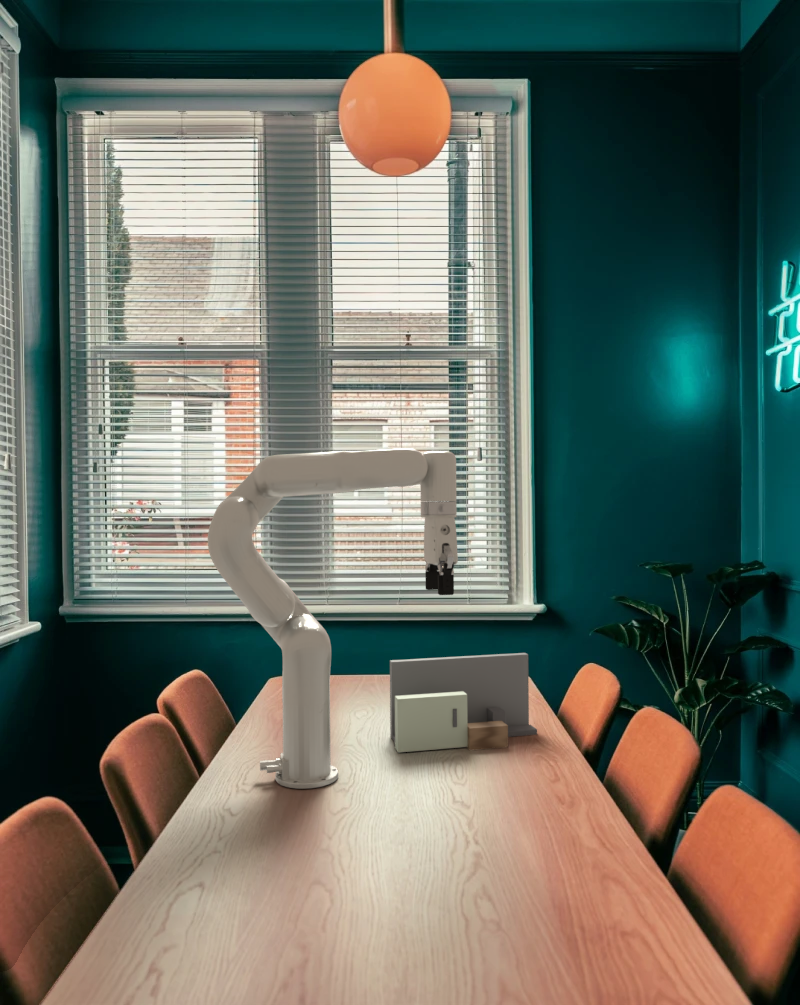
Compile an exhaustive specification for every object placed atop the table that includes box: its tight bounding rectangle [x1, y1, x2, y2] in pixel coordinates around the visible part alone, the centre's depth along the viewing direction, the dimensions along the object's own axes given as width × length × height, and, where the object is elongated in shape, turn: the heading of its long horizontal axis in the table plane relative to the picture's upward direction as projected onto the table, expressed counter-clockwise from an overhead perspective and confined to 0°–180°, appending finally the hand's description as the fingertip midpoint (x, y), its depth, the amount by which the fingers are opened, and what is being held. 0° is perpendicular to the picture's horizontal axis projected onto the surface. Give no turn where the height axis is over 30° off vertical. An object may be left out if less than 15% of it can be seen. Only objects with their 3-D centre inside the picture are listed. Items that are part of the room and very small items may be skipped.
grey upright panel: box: [389, 652, 538, 743], centre depth 182 cm, size 34×7×18 cm, turn 103°
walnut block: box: [466, 721, 509, 751], centre depth 174 cm, size 9×4×5 cm, turn 103°
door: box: [394, 691, 468, 753], centre depth 172 cm, size 16×3×12 cm, turn 103°
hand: (439, 592), depth 161 cm, fingers open, 9 cm apart
